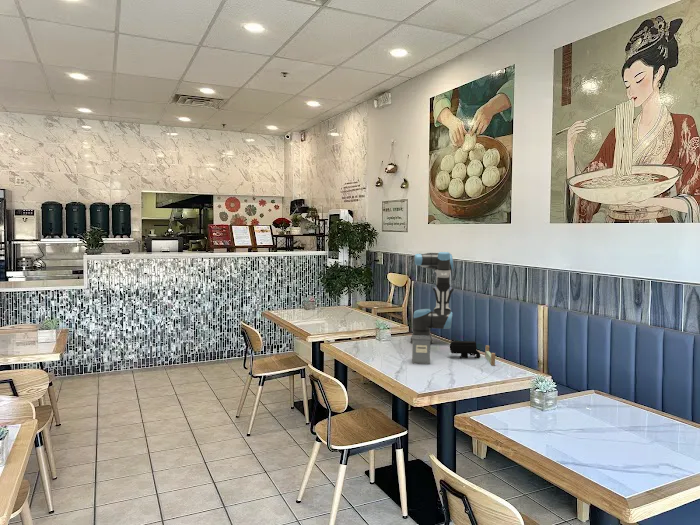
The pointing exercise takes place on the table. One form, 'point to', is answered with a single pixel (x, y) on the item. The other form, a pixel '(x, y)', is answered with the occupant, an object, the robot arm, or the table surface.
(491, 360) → the backstop
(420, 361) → the box
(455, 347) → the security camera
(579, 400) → the table surface
